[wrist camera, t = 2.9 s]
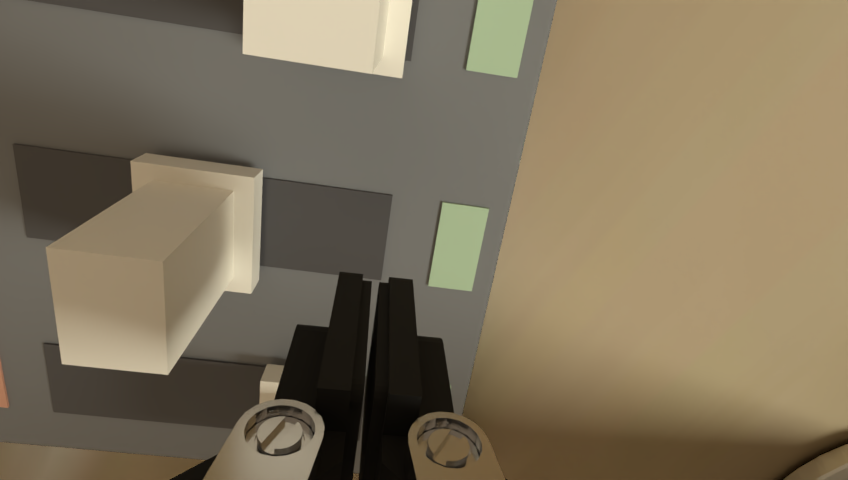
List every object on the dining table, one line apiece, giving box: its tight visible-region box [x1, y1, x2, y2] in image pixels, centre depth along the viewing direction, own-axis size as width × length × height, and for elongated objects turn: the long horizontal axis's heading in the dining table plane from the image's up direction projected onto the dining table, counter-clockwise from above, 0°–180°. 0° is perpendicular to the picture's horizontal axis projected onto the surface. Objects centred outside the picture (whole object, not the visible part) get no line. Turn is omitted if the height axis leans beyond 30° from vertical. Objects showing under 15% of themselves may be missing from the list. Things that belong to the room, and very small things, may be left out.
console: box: [0, 0, 557, 473], centre depth 18 cm, size 22×20×2 cm
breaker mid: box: [46, 153, 263, 375], centre depth 14 cm, size 4×4×6 cm
